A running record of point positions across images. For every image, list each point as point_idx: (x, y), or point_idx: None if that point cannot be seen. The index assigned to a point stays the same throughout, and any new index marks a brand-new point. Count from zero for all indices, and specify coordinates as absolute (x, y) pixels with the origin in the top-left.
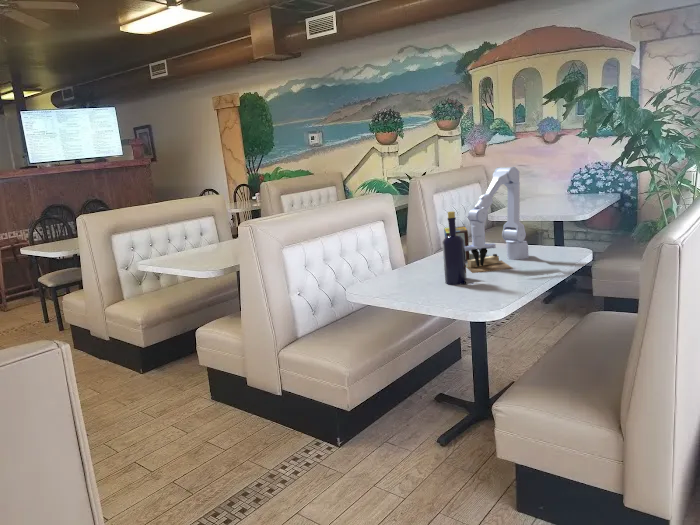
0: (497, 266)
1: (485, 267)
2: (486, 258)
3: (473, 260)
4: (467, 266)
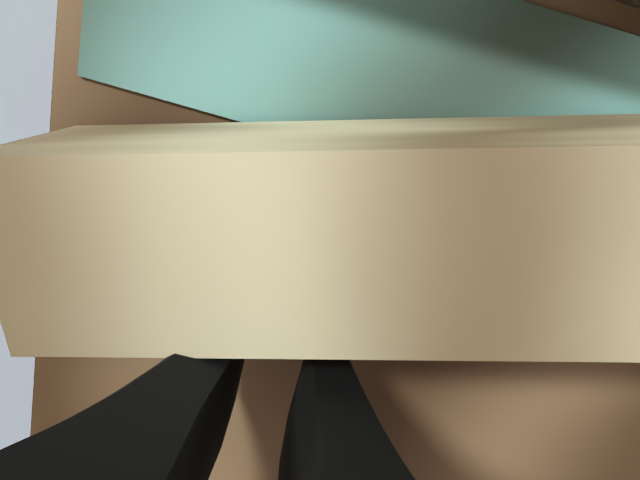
0: (575, 460)
1: (371, 383)
2: (566, 361)
3: (116, 324)
4: (95, 56)
